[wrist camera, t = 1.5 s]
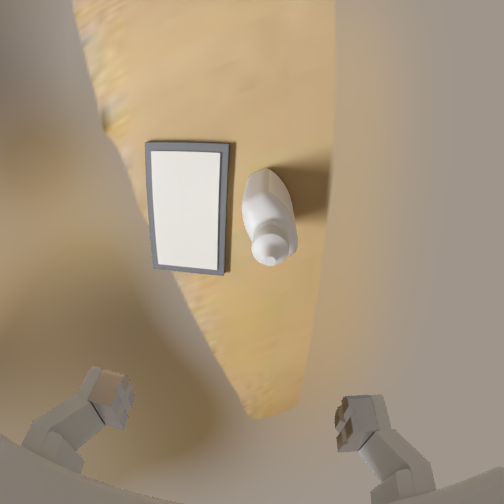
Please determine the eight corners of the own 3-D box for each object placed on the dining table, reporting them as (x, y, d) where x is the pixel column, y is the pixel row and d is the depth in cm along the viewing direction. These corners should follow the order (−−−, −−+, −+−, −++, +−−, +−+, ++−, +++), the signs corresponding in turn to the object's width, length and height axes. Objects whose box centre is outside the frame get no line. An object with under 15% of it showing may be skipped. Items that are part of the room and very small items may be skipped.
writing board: (147, 141, 26) (145, 142, 26) (229, 143, 26) (228, 144, 26) (155, 265, 33) (153, 268, 33) (224, 272, 33) (223, 275, 33)
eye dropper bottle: (295, 168, 27) (311, 220, 17) (291, 223, 30) (301, 299, 20) (248, 166, 27) (233, 216, 17) (247, 221, 30) (234, 296, 20)
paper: (151, 150, 26) (151, 151, 26) (220, 152, 26) (220, 153, 26) (158, 263, 32) (158, 264, 32) (217, 269, 32) (217, 270, 32)
